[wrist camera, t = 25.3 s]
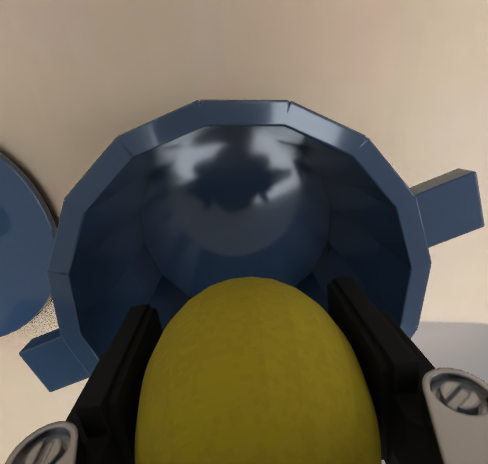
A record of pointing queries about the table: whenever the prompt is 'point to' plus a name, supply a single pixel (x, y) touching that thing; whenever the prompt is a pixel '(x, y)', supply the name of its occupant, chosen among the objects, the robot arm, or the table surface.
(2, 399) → the table surface
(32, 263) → the pot lid
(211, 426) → the lemon
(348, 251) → the pot
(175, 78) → the table surface
